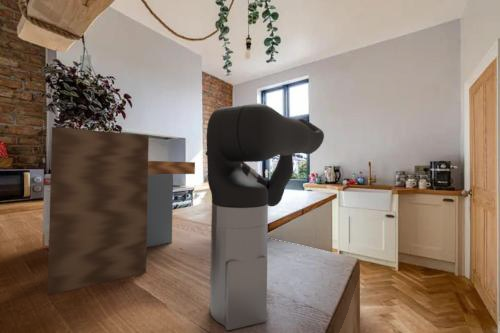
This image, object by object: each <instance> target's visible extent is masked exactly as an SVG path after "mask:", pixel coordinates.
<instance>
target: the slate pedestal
mask: <svg viewBox="0 0 500 333" xmlns="http://www.w3.org/2000/svg"><path fill="white" fill-rule="evenodd" d="M173 198H174V174H148V196H147V247H146V248H149V247H155V246H160V245H161V244H162V245H167V244H166V243H168V244H171V243H173V206H174V205H173V201H174V199H173ZM162 245H161V246H162Z"/></svg>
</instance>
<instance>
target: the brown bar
mask: <svg viewBox="0 0 500 333" xmlns="http://www.w3.org/2000/svg"><path fill="white" fill-rule="evenodd" d="M195 164H196V162H195V161H165V160H163V161H162V160H148V174H173V175H195V172H196V165H195Z"/></svg>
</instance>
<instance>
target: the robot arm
mask: <svg viewBox="0 0 500 333" xmlns="http://www.w3.org/2000/svg"><path fill="white" fill-rule="evenodd" d="M324 138H325V133H324V131H323V130H322V129H321V128H319V127H318V126H316V125H315V124H314V123H312V122H310V121H308V120H307V119H305V118H303V117H301V118H293V117H291V116H286V115H282V114H281V113H280V112H278V111H277V110H275V109H274V108H273V107H270V105H268V104H264V103H247V104H240V105H234V106H233V105H231V106H224V107H219V108H217V109H215V110H214V111H213V112H212V113H211V115H210V117H209V120H208V122H207V128H206V152H204V153H205V154H204V155H205V156H206V157H207V160H206V161H207V162H206V164H207V166H206V167H207V183H208V188H209V190H210V193H211V225H210V227H211V228H210V230H211V231H210V232H211V233H210V283H209V284H210V285H209V286H210V289H209V290H210V291H209V292H210V296H209V298H210V299H209V301H210V302H209V303H210V306H209V311H210V312H209V313H210V315H211V317H212V318H213V320H215V322H218V323H219V324H221V325H223V326H224V327H225V330H226V331H231V330H236V329H241V328H245V327H249V326H252V325H257V324H262V323H266V322H267V317H268V315H267V311H268V310H267V309H268V308H267V306H268V304H267V302H268V301H267V299H268V293H267V292H268V228H269V227H268V220H269V219H268V218H269V207H275V206H277V205H279V203H280V202H281V200H282V199H283V196H284V193H285V190H286V186H287V185H288V184H289V182H290V180H291V179H292V176H293V175H294V160H293V159H294V158H293V155H295V154H304V155H311V154H313V153H314V152H316V151H317V150H318V149H320V147H321V146H322V143H323V142H324ZM277 156H279V158H278V162H277V164H276V166H275V169H274V170H273V172H272V174H271V175H270V178H269V179H268V178H265V177H263V176H262V175H261V174H259V172H257V171H256V170H255V168H252V167H251V166H250V165H249V164H247V163H257V162H258V163H259V162H264V161H268V160H270V159H273V158H275V157H277ZM246 162H247V163H246Z"/></svg>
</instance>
